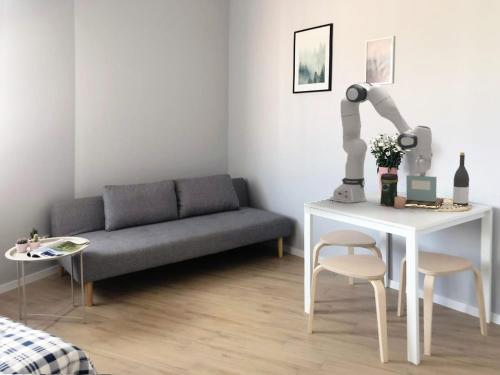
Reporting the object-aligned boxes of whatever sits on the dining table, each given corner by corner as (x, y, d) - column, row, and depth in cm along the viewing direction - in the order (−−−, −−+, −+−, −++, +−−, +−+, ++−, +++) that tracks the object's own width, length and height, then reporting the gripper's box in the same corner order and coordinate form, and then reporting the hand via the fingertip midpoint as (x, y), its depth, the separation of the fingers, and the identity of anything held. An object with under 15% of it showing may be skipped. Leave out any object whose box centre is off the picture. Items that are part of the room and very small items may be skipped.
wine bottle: (458, 206, 261) (460, 153, 256) (449, 203, 269) (451, 152, 264) (471, 205, 263) (473, 152, 258) (462, 202, 271) (464, 151, 266)
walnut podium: (404, 206, 267) (404, 193, 266) (411, 201, 280) (412, 188, 279) (436, 209, 257) (437, 195, 256) (443, 203, 270) (443, 190, 269)
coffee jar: (400, 204, 271) (400, 173, 268) (391, 206, 267) (392, 174, 264) (386, 202, 279) (387, 171, 276) (378, 204, 275) (378, 173, 272)
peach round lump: (394, 208, 262) (394, 197, 261) (394, 206, 267) (395, 195, 266) (405, 209, 260) (405, 198, 259) (405, 206, 266) (406, 196, 264)
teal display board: (407, 199, 268) (406, 199, 267) (407, 175, 265) (406, 175, 264) (436, 201, 259) (435, 201, 258) (436, 176, 256) (435, 177, 255)
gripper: (424, 157, 249) (423, 182, 252) (433, 153, 266) (432, 177, 268) (412, 156, 253) (411, 181, 255) (421, 153, 269) (421, 176, 272)
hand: (422, 179), depth 262 cm, fingers closed
